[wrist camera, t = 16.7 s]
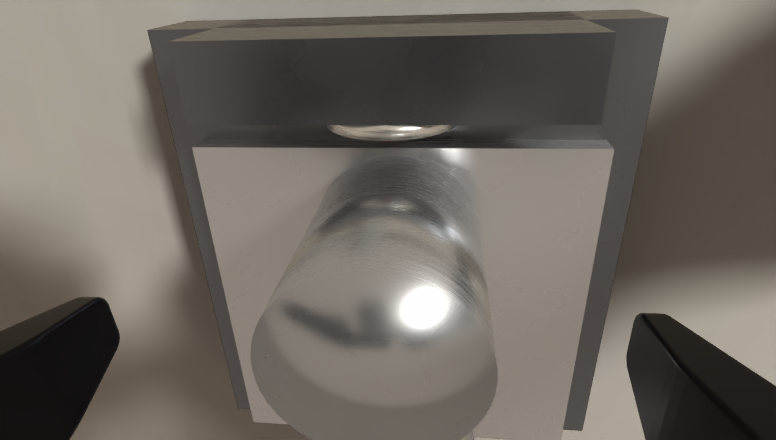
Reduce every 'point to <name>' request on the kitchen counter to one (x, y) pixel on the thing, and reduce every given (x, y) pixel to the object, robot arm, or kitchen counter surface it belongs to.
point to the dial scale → (430, 143)
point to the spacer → (382, 312)
